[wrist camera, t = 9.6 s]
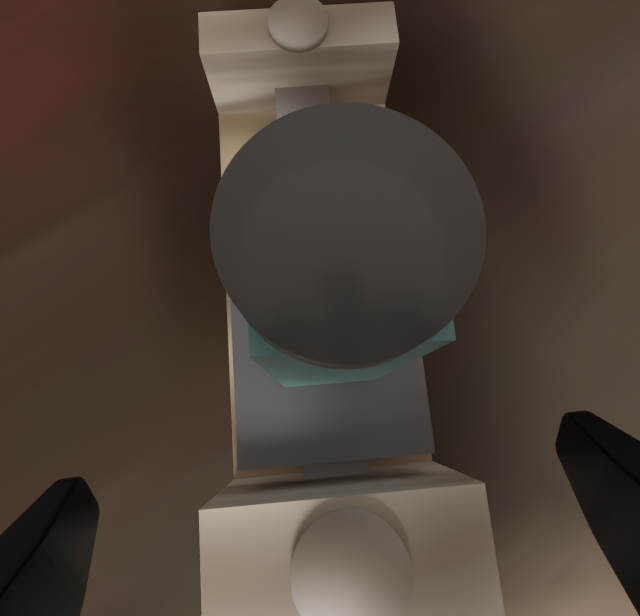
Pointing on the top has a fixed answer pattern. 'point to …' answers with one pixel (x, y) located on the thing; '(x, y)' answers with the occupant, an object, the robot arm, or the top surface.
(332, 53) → the rail track
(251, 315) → the carriage
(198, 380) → the top surface
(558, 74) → the top surface
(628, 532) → the robot arm
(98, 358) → the top surface
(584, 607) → the top surface
